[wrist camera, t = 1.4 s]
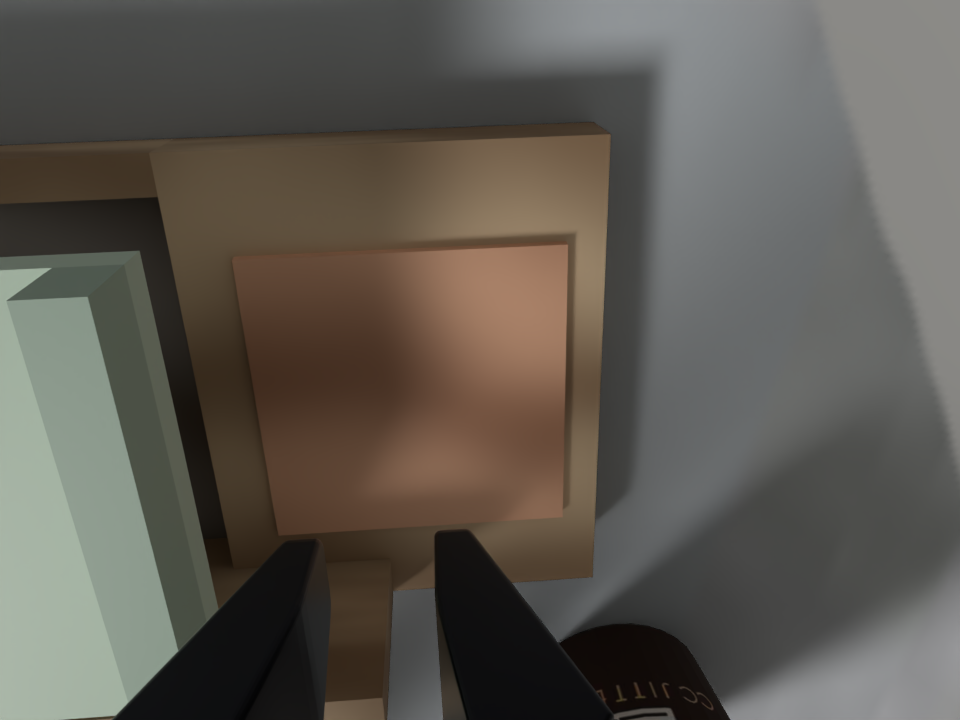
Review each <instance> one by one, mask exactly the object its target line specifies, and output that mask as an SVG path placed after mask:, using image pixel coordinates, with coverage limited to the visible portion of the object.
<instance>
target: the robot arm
mask: <svg viewBox="0 0 960 720" xmlns="http://www.w3.org/2000/svg"><path fill="white" fill-rule="evenodd" d="M434 573H435V602H436V617H437V632H438V647H439V662H440V677H441V692H442V707H443V720H617V719H614V714H613V713H612V711H611V710H610V709H609V707H608V706H607V705H606V704H605V702H604V701H603V700H602V698H601V697H600V696H599V695H598V693H597V692H596V691H595V689H594V688H593V687H592V686H591V684H590V683H589V682H588V680H587V679H586V678H585V677H584V675H583V674H582V673H581V671H580V670H579V669H578V668H577V666H576V665H575V664H574V662H573V661H572V660H571V659H570V657H569V656H568V655H567V653H566V652H565V651H564V650H563V648H562V647H561V646H560V644H559V643H558V642H557V641H556V639H555V638H554V637H553V635H552V634H551V633H550V632H549V630H548V629H547V628H546V626H545V625H544V624H543V623H542V621H541V620H540V619H539V617H538V616H537V615H536V614H535V612H534V611H533V610H532V608H531V607H530V606H529V605H528V603H527V602H526V601H525V599H524V598H523V597H522V596H521V594H520V593H519V592H518V590H517V589H516V588H515V587H514V585H513V584H512V583H511V581H510V580H509V579H508V578H507V576H506V575H505V574H504V572H503V571H502V570H501V569H500V567H499V566H498V565H497V563H496V562H495V561H494V560H493V558H492V557H491V556H490V554H489V553H488V552H487V551H486V549H485V548H484V547H483V545H482V544H481V543H480V542H479V540H478V539H477V538H476V536H475V535H474V534H473V533H472V532H471V531H470V530H469V529H465V528H464V529H449V530H439V531H437V532H436V533H435V535H434ZM330 619H331V597H330V588H329V581H328V574H327V567H326V560H325V552H324V547H323V543H322V542H321V541H320V540H319V539H318V538H310V539H294V540H287V541H285V542H284V543H282V544H281V545H280V546H279V547H278V548H277V549H276V550H275V551H274V552H273V553H272V555H271V556H270V557H269V558H268V559H267V560H266V561H265V562H264V563H263V564H262V565H261V566H260V567H259V568H258V569H257V570H256V571H255V572H254V573H253V574H252V575H251V576H250V577H249V578H248V579H247V580H246V581H245V582H244V583H243V584H242V585H241V587H240V588H239V589H238V590H237V591H236V592H235V593H234V594H233V595H232V596H231V597H230V598H229V599H228V600H227V601H226V602H225V603H224V604H223V605H222V606H221V607H220V608H219V609H218V610H217V611H216V612H215V613H214V614H213V615H212V616H211V617H210V619H209V620H208V621H207V622H206V623H205V624H204V625H203V626H202V627H201V628H200V629H199V630H198V631H197V632H196V633H195V634H194V635H193V636H192V637H191V638H190V639H189V640H188V641H187V642H186V643H185V644H184V645H183V646H182V647H181V648H180V649H179V651H178V652H177V653H176V654H175V655H174V656H173V657H172V658H171V659H170V660H169V661H168V662H167V663H166V664H165V665H164V666H163V667H162V668H161V669H160V670H159V671H158V672H157V673H156V674H155V675H154V676H153V677H152V678H151V679H150V680H149V681H148V683H147V684H146V685H145V686H144V687H143V688H142V689H141V690H140V691H139V692H138V693H137V694H136V695H135V696H134V697H133V698H132V699H131V700H130V701H129V702H128V703H127V704H126V705H125V706H124V707H123V708H122V709H121V710H120V711H119V712H118V713H117V715H116V716H115V717H114V718H113V719H112V720H324V709H325V694H326V679H327V664H328V649H329V634H330Z"/></svg>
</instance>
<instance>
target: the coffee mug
mask: <svg viewBox="0 0 960 720" xmlns="http://www.w3.org/2000/svg"><path fill="white" fill-rule="evenodd" d="M560 646H561V647H562V648H563V650H564V651H565V652H566V653H567V655H568V656H569V657H570V659H571V660H572V661H573V662H574V664H575V665H576V666H577V668H578V669H579V670H580V671H581V673H582V674H583V675H584V677H585V678H586V679H587V680H588V682H589V683H590V684H591V686H592V687H593V688H594V689H595V691H596V692H597V693H598V695H599V696H600V697H601V698H602V700H603V701H604V702H605V704H606V705H607V706H608V707H609V709H610V710H611V711H612V713H613V714H614V719H617V720H730V718H729V717H728V715H727V713H726V712H725V710H724V708H723V706H722V705H721V703H720V701H719V700H718V698H717V696H716V694H715V693H714V691H713V689H712V688H711V686H710V684H709V682H708V681H707V679H706V677H705V676H704V674H703V672H702V670H701V669H700V667H699V665H698V664H697V662H696V660H695V658H694V657H693V655H692V654H691V653H690V651H689V650H688V648H687V647H686V646H685V645H684V644H683V643H681V642H680V641H679V640H678V639H677V638H675V637H673V636H672V635H670V634H668V633H666V632H664V631H662V630H659V629H655V628H652V627H649V626H643V625H635V624H612V625H607V626H601V627H596V628H592V629H590V630H587V631H584V632H581V633H578V634H576V635H574V636H572V637H570V638H568V639H566V640H564V641H563V642H561V643H560Z"/></svg>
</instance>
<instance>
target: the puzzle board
mask: <svg viewBox="0 0 960 720" xmlns="http://www.w3.org/2000/svg"><path fill="white" fill-rule="evenodd" d="M610 142H611V134H610V133H608V132H607V131H606V130H604V129H603V128H601V127H600V126H598V125H597V124H596V123H594V122H580V123H555V124H530V125H505V126H479V127H454V128H429V129H403V130H378V131H353V132H328V133H302V134H277V135H252V136H226V137H201V138H176V139H150V140H125V141H100V142H75V143H49V144H24V145H0V257H16V256H37V255H59V254H80V253H102V252H123V251H140V255H141V260H142V264H143V269H144V273H145V278H146V283H147V287H148V292H149V296H150V301H151V305H152V310H153V314H154V319H155V323H156V328H157V332H158V337H159V341H160V346H161V351H162V355H163V360H164V364H165V369H166V373H167V378H168V382H169V387H170V391H171V396H172V400H173V405H174V410H175V414H176V419H177V423H178V428H179V432H180V437H181V441H182V446H183V450H184V455H185V459H186V464H187V469H188V473H189V478H190V482H191V487H192V491H193V496H194V500H195V505H196V509H197V514H198V518H199V523H200V528H201V532H202V537H203V541H204V546H205V550H206V555H207V559H208V564H209V568H210V573H211V577H212V582H213V587H214V591H215V596H216V600H217V605H218V609H219V608H220V607H221V606H222V605H223V604H224V603H225V602H226V601H227V600H228V599H229V598H230V597H231V596H232V595H233V594H234V593H235V592H236V591H237V590H238V589H239V588H240V587H241V585H242V584H243V583H244V582H245V581H246V580H247V579H248V578H249V577H250V576H251V575H252V574H253V573H254V572H255V571H256V570H257V569H258V568H259V567H260V566H261V565H262V564H263V563H264V562H265V561H266V560H267V559H268V558H269V557H270V556H271V555H272V553H273V552H274V551H275V550H276V549H277V548H278V547H279V546H280V545H281V544H282V543H284V542H285V541H287V540H294V539H310V538H318V539H319V540H320V541H321V542H322V543H323V547H324V552H325V560H326V567H327V574H328V581H329V588H330V597H331V619H330V634H329V649H328V664H327V679H326V694H325V709H324V720H387V712H388V691H389V670H390V649H391V628H392V607H393V591H398V590H413V589H427V588H435V573H434V535H435V533H436V532H437V531H439V530H449V529H464V528H465V529H469V530H470V531H471V532H472V533H473V534H474V535H475V536H476V538H477V539H478V540H479V542H480V543H481V544H482V545H483V547H484V548H485V549H486V551H487V552H488V553H489V554H490V556H491V557H492V558H493V560H494V561H495V562H496V563H497V565H498V566H499V567H500V569H501V570H502V571H503V572H504V574H505V575H506V576H507V578H508V579H509V580H510V581H511V583H514V582H529V581H543V580H558V579H572V578H587V577H593V554H594V529H595V505H596V481H597V457H598V432H599V408H600V384H601V360H602V336H603V311H604V287H605V263H606V239H607V215H608V190H609V166H610ZM114 717H115V716H104V717H91V718H78V719H65V720H112V719H113V718H114Z"/></svg>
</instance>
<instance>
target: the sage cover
mask: <svg viewBox="0 0 960 720" xmlns="http://www.w3.org/2000/svg"><path fill="white" fill-rule="evenodd" d="M217 610H218V605H217V600H216V596H215V591H214V587H213V582H212V577H211V573H210V568H209V564H208V559H207V555H206V550H205V546H204V541H203V537H202V532H201V528H200V523H199V518H198V514H197V509H196V505H195V500H194V496H193V491H192V487H191V482H190V478H189V473H188V469H187V464H186V459H185V455H184V450H183V446H182V441H181V437H180V432H179V428H178V423H177V419H176V414H175V410H174V405H173V400H172V396H171V391H170V387H169V382H168V378H167V373H166V369H165V364H164V360H163V355H162V351H161V346H160V341H159V337H158V332H157V328H156V323H155V319H154V314H153V310H152V305H151V301H150V296H149V292H148V287H147V283H146V278H145V273H144V269H143V264H142V260H141V255H140V251H123V252H102V253H80V254H59V255H37V256H16V257H0V720H65V719H78V718H91V717H104V716H116V715H117V713H118V712H119V711H120V710H121V709H122V708H123V707H124V706H125V705H126V704H127V703H128V702H129V701H130V700H131V699H132V698H133V697H134V696H135V695H136V694H137V693H138V692H139V691H140V690H141V689H142V688H143V687H144V686H145V685H146V684H147V683H148V681H149V680H150V679H151V678H152V677H153V676H154V675H155V674H156V673H157V672H158V671H159V670H160V669H161V668H162V667H163V666H164V665H165V664H166V663H167V662H168V661H169V660H170V659H171V658H172V657H173V656H174V655H175V654H176V653H177V652H178V651H179V649H180V648H181V647H182V646H183V645H184V644H185V643H186V642H187V641H188V640H189V639H190V638H191V637H192V636H193V635H194V634H195V633H196V632H197V631H198V630H199V629H200V628H201V627H202V626H203V625H204V624H205V623H206V622H207V621H208V620H209V619H210V617H211V616H212V615H213V614H214V613H215V612H216V611H217Z"/></svg>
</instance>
